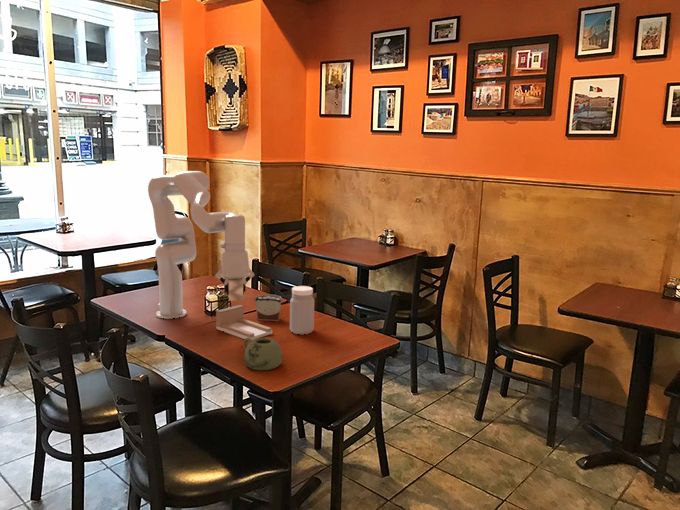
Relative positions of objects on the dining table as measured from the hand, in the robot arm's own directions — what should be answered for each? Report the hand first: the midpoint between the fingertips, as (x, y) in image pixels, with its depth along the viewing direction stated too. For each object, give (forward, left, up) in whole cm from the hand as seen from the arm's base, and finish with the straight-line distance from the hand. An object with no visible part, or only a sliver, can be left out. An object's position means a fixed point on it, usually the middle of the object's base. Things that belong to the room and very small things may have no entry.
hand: (235, 293), depth 206 cm
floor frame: (-2, +6, -17) cm, 19 cm away
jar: (+14, +22, -17) cm, 32 cm away
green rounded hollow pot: (+27, -12, -18) cm, 34 cm away
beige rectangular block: (0, 0, -1) cm, 1 cm away
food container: (-8, +25, -17) cm, 32 cm away
